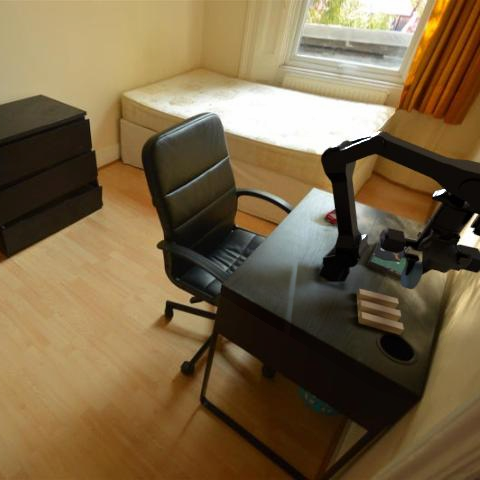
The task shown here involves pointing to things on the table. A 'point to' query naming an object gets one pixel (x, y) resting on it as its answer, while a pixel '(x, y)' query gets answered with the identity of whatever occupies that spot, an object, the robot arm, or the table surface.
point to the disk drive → (387, 261)
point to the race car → (331, 217)
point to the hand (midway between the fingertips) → (410, 275)
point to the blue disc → (412, 276)
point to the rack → (379, 311)
